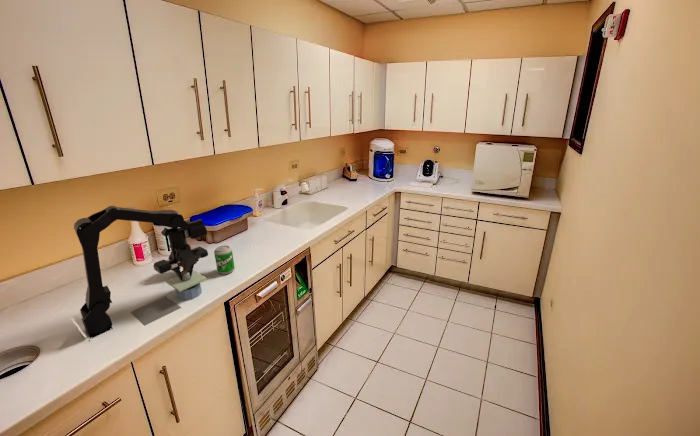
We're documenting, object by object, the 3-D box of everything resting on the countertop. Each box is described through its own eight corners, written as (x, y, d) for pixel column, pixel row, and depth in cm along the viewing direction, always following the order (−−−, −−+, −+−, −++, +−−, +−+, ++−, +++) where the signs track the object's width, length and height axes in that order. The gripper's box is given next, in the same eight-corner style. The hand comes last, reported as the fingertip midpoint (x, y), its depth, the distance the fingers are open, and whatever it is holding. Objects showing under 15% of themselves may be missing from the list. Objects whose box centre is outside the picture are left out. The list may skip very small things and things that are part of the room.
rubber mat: (144, 327, 114) (144, 325, 113) (130, 313, 121) (129, 311, 121) (181, 308, 123) (181, 307, 123) (166, 297, 131) (165, 295, 130)
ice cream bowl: (191, 265, 156) (185, 236, 151) (203, 272, 149) (197, 242, 144) (168, 274, 148) (161, 244, 143) (180, 282, 141) (173, 251, 136)
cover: (179, 291, 122) (177, 283, 121) (166, 282, 128) (164, 274, 127) (206, 279, 130) (205, 271, 129) (193, 271, 137) (191, 263, 135)
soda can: (218, 269, 152) (214, 246, 148) (235, 266, 154) (231, 243, 150) (217, 276, 145) (213, 252, 141) (234, 274, 147) (231, 250, 143)
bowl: (184, 304, 126) (181, 293, 124) (173, 296, 131) (170, 285, 129) (206, 293, 132) (204, 283, 131) (194, 286, 138) (192, 276, 136)
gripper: (162, 257, 112) (171, 295, 117) (212, 239, 126) (218, 274, 131) (148, 249, 118) (157, 286, 124) (197, 233, 132) (204, 266, 138)
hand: (186, 278), depth 129 cm, fingers closed on cover, 3 cm apart
